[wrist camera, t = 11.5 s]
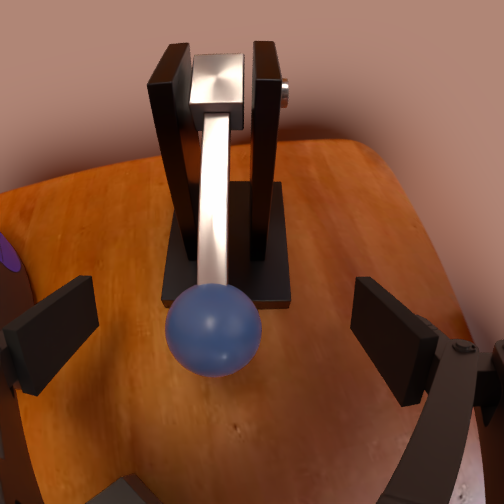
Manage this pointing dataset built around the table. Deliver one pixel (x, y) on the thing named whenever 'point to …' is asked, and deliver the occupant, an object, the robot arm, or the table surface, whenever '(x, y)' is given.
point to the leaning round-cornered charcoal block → (12, 287)
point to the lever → (214, 234)
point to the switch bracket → (240, 192)
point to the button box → (126, 493)
